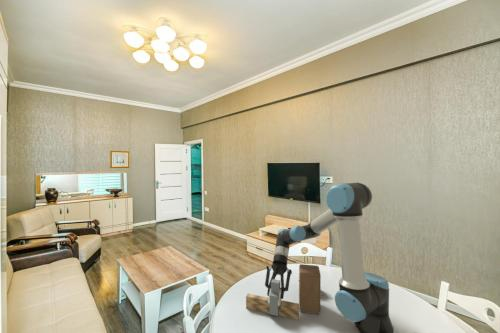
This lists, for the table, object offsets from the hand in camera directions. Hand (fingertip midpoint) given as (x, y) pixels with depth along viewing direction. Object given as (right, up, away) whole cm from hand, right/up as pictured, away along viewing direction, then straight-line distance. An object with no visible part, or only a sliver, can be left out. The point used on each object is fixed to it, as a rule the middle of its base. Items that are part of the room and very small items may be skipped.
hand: (273, 304), depth 108 cm
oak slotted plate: (-1, -6, +4) cm, 7 cm away
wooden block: (+19, -6, +8) cm, 21 cm away
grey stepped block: (+1, -5, +4) cm, 6 cm away
